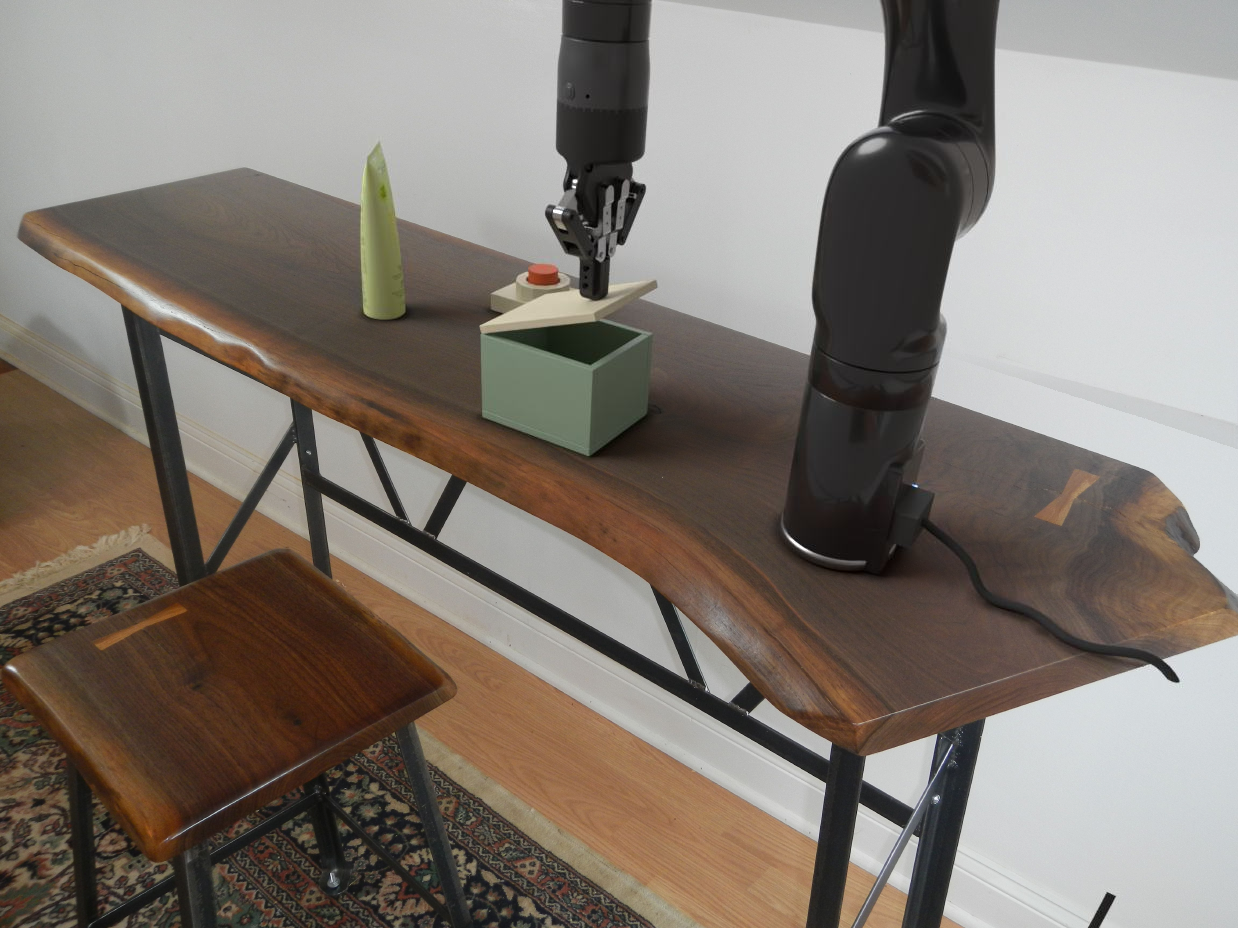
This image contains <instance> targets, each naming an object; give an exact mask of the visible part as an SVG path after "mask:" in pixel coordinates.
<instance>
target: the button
mask: <svg viewBox="0 0 1238 928" xmlns="http://www.w3.org/2000/svg"><path fill="white" fill-rule="evenodd" d="M527 272H528V282H529V283H530V284H534V285H540V286H549V285H555V284H558V273H559V267H557V266H556V265H553V264H549V263H535V264H532V265H530V266H529V267H528V271H527Z"/></svg>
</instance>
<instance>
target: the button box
mask: <svg viewBox="0 0 1238 928" xmlns="http://www.w3.org/2000/svg"><path fill="white" fill-rule="evenodd" d="M573 290H579V288H574V287H571V278H570V277H569V276H568V275H566V274H565V273H562V272H558V284H555V285H549V286H540V285H534V284H530V283H529V282H528V271H525V272H522V273H520V274H518V275H517V276H516V279H515V282H513V283H510V284H508V285H506V286H504V287H502V288H499V289H497V290H495V291H493V292H491V293H490V310H492V311H494V312H498V313H500V314H501V313H502V314H505V313H507V312H509V311H511V310H513V309H516V308H518V307H520V306H522V305H524V304H526V303H528V302H530V301H532V300H534V299H537V298H539V297H541V296H543V295H545V294H550V293H558V292H565V291H573Z"/></svg>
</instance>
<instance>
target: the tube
mask: <svg viewBox="0 0 1238 928" xmlns="http://www.w3.org/2000/svg"><path fill="white" fill-rule="evenodd" d="M380 140H381V139H377V141H376V143H375V145H374V146H373V148H372V149H371V150H370V152H369V153H368V154H367V155H366V162H365V165H364V168H363V174H362V175H363V176H362V182H361V184H362V185H361V203H360V206H361V207H360V267H361V289H362V307H363V314H364V315H365V316H367V317H368V318H371V319H373V320H379V321H380V320H381V321H388V320H394V319H398V318H400V317H402V316H403V315H404V314H405V313H406V299H405V296H406V295H405V286H404V284H405V283H404V275H403V265H402V255H401V248H400V247H401V246H400V237H399V231H398V230H399V229H398V224H397V216H396V210H395V204H394V198H393V192H392V188H391V187H392V186H391V183H390V182H391V181H390V177H389V171H388V167H387V162H386V159H385V155H384V152H383V149H382V146H381V141H380Z"/></svg>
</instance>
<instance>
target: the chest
mask: <svg viewBox="0 0 1238 928" xmlns="http://www.w3.org/2000/svg"><path fill="white" fill-rule="evenodd" d="M653 341H654V333H653V332H650V331H646V330H643V329H639V328H636V327H633V326H629V325H626V324H623V323H620V322H616V321H612V320H610V319H609V320H608V319H606V318H602V319H600V320H598V321H596V322H587V323H577V324H568V325H559V326H549V327H540V328H531V329H521V330H512V331H503V332H493V333H484V334H482V333H481V334H480V370H481V371H480V372H481V375H480V376H481V407H482V408H481V411H482V412H481V413H482V414H481V415H482V418H484V419H487V420H489V421H492V422H494V423H497V424H500V425H502V426H505V427H508V428H510V429H513V430H515V431H519V432H522V433H524V434H526V435H530V436H533V437H536V438H538V439H540V440H543V441H545V442H548V443H552V444H554V445H557V446H560V447H562V448H565V449H568V450H570V451H573V452H576V453H578V454H581V455H584V456H587V457H590V456H592V455H593V454H595V453H596V452H597V451H599V450H601V448H603V447H604V446H606V445H607V444H609V442H611V441H612V440H614V439H615V438H616V437H618V436H619V435H621V434H622V433H623V432H624V431H626V430H628V429H629V428H631V427H632V426H633V425H634V424H635V423H637V422H638V421H640V420H641V419H642V418H644V417H645V416H646V415H648V405H649V393H650V392H649V391H650V378H651V367H652V354H653Z"/></svg>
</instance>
